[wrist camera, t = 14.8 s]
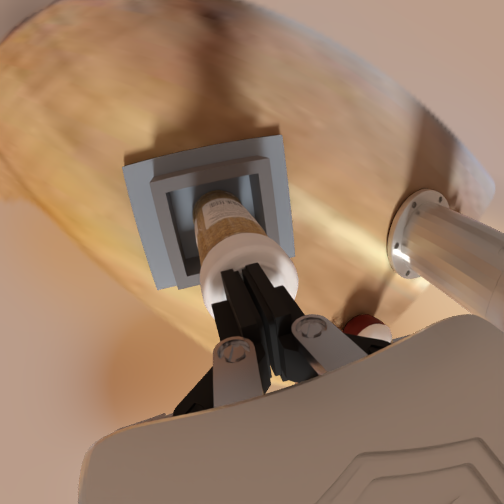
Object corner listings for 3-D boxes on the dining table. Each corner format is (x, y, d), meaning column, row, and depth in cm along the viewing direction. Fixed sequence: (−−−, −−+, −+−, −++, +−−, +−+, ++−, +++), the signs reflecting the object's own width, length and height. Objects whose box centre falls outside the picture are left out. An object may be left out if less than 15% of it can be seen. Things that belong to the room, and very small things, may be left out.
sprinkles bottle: (185, 230, 24) (190, 323, 12) (202, 181, 23) (223, 233, 11) (232, 244, 26) (276, 340, 14) (251, 198, 25) (317, 262, 13)
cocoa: (322, 340, 36) (360, 407, 26) (343, 303, 34) (392, 368, 24) (371, 343, 39) (410, 398, 29) (391, 310, 37) (438, 363, 26)
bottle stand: (278, 134, 24) (297, 135, 20) (291, 252, 29) (309, 272, 25) (124, 166, 22) (112, 172, 18) (157, 285, 27) (155, 310, 23)
